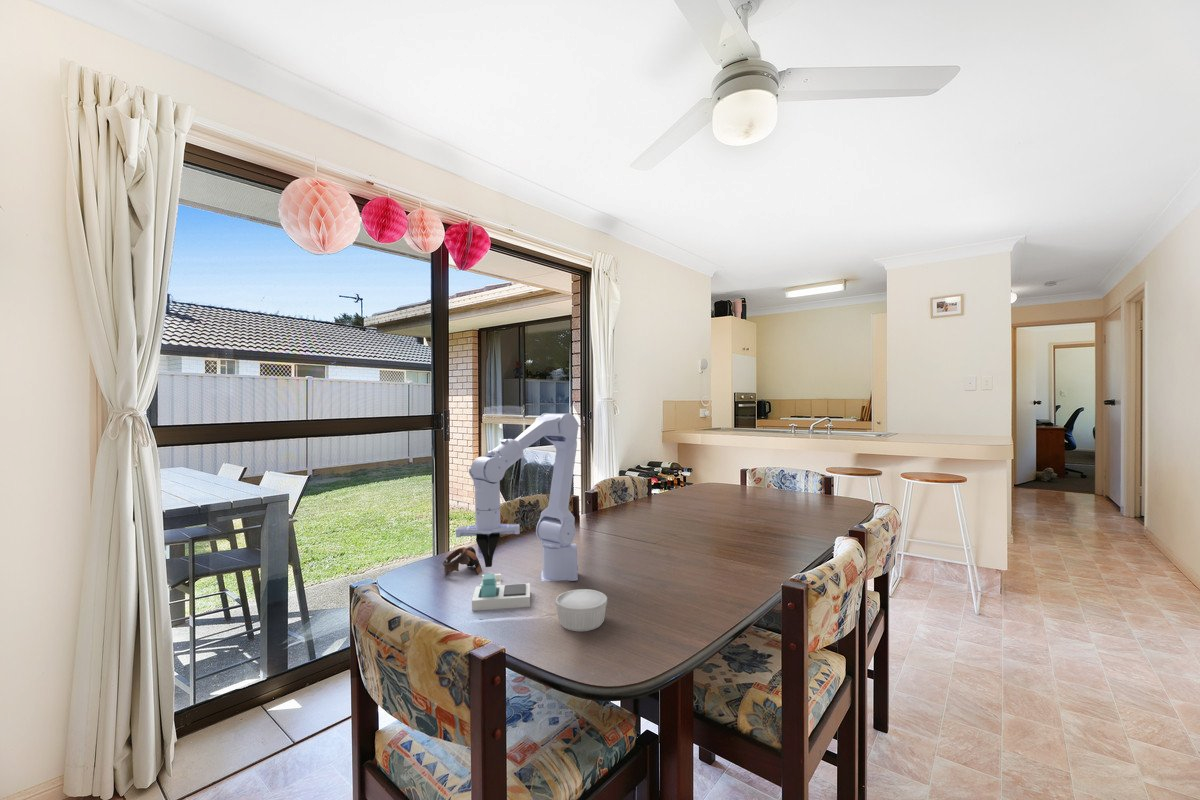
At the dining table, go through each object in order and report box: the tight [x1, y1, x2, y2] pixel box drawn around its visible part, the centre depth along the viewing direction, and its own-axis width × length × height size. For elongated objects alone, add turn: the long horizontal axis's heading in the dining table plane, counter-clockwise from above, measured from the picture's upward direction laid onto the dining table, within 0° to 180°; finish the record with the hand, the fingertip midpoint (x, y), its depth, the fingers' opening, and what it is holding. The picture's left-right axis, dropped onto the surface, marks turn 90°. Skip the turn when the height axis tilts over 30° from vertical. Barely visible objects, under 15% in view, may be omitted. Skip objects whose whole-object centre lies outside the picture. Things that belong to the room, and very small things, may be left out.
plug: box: [481, 573, 497, 598], centre depth 120 cm, size 3×4×6 cm
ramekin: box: [554, 588, 608, 633], centre depth 109 cm, size 11×11×5 cm
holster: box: [479, 573, 502, 586], centre depth 130 cm, size 5×8×2 cm, turn 8°
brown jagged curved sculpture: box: [442, 546, 483, 575], centre depth 141 cm, size 12×10×8 cm
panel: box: [471, 582, 531, 612], centre depth 120 cm, size 13×9×3 cm
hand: (488, 565), depth 120 cm, fingers closed
